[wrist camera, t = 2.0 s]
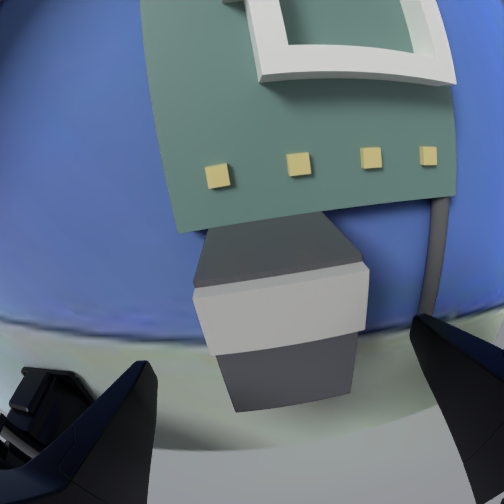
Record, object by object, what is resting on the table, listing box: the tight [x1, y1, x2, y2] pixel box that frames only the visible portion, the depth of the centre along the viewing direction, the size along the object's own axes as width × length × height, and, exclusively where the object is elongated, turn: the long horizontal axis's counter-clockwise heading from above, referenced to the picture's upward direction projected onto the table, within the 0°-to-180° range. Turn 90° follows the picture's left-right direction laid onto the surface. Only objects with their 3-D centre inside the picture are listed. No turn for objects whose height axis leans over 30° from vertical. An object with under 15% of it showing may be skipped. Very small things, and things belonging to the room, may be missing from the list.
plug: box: [193, 211, 370, 412], centre depth 11 cm, size 6×4×6 cm
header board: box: [140, 0, 457, 234], centre depth 8 cm, size 16×13×3 cm
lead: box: [417, 196, 450, 316], centre depth 13 cm, size 12×1×1 cm, turn 8°
